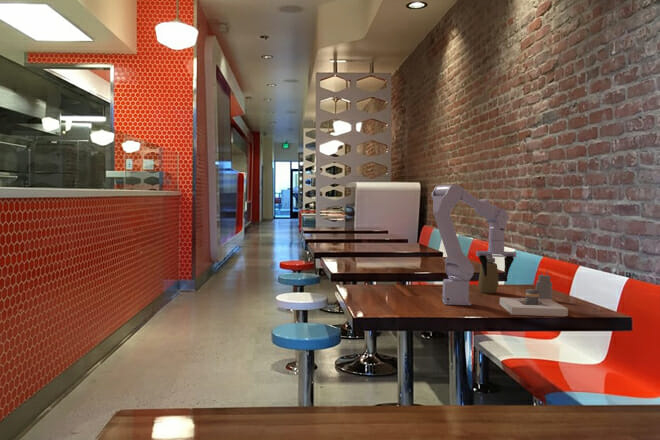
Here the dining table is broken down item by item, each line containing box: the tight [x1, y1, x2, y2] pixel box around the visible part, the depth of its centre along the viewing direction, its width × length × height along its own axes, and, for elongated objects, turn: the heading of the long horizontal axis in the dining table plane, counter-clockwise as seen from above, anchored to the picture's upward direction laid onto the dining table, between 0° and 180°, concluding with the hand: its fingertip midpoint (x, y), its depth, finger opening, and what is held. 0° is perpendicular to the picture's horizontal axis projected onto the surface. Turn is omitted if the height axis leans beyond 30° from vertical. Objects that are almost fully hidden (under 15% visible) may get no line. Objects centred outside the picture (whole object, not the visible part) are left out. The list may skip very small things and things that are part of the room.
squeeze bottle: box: [478, 256, 500, 295], centre depth 221 cm, size 8×8×18 cm
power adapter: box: [535, 269, 553, 300], centre depth 206 cm, size 3×5×12 cm, turn 58°
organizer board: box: [499, 297, 569, 317], centre depth 187 cm, size 18×18×2 cm
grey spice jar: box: [525, 288, 539, 305], centre depth 187 cm, size 4×4×7 cm
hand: (495, 275), depth 204 cm, fingers open, 7 cm apart
